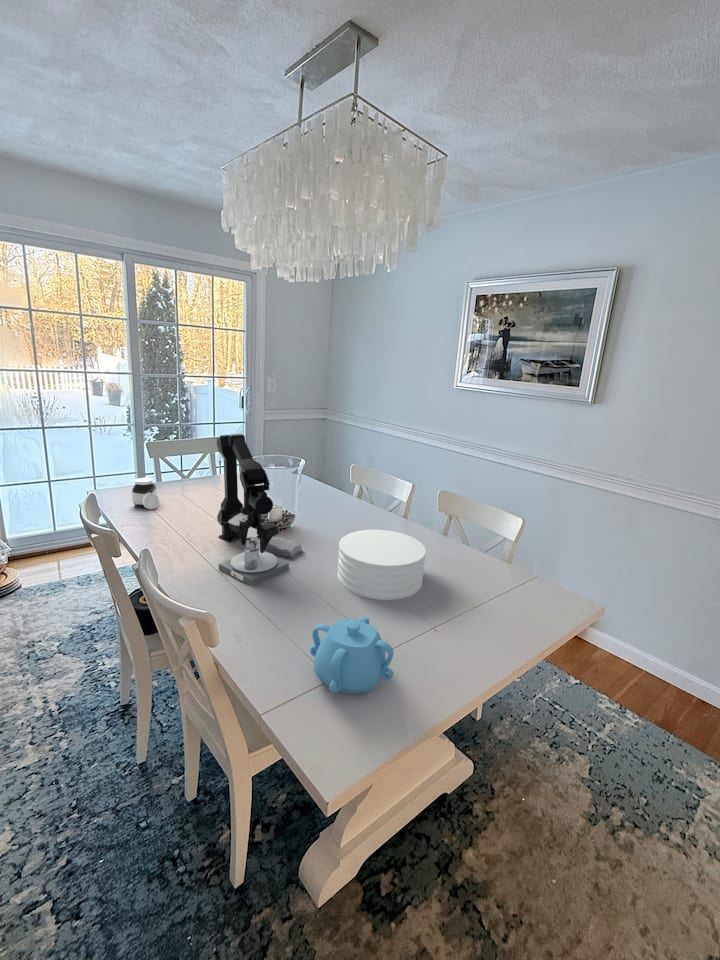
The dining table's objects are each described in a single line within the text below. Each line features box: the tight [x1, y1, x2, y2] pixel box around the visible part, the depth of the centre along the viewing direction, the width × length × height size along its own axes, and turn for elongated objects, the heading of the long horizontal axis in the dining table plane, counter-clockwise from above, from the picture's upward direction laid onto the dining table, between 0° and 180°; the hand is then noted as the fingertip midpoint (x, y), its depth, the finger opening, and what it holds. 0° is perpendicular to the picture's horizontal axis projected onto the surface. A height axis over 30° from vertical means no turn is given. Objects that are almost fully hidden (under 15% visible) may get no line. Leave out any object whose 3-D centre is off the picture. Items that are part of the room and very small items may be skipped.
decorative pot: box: [309, 616, 394, 695], centre depth 100 cm, size 16×16×14 cm
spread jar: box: [131, 477, 160, 510], centre depth 197 cm, size 12×11×12 cm
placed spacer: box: [243, 548, 257, 570], centre depth 142 cm, size 4×4×6 cm
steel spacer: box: [245, 536, 260, 557], centre depth 150 cm, size 4×4×6 cm
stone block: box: [264, 536, 302, 559], centre depth 163 cm, size 12×5×10 cm
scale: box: [218, 549, 290, 586], centre depth 148 cm, size 16×17×3 cm
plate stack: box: [337, 529, 427, 601], centre depth 147 cm, size 28×28×12 cm
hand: (252, 548), depth 150 cm, fingers open, 9 cm apart
